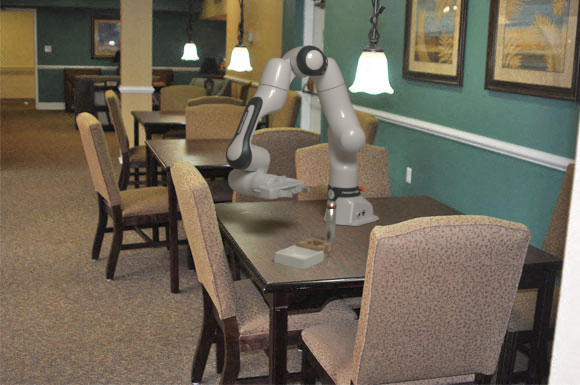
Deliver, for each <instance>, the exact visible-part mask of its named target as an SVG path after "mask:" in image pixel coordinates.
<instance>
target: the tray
mask: <svg viewBox="0 0 580 385" xmlns="http://www.w3.org/2000/svg"><path fill="white" fill-rule="evenodd" d="M323 257H324V252H323V251H320V252H319V251H314V250H310V249H306V248H302V247H297V246H296V244H293V245H291V246H287V247H286V248H283V249H280V250H278V251H276V252H274V260H273V261H274V263H276V264H280V265H283V266H288V267H292V268H296V269H299V270H303V271H304V270H306V269H308V268H311V267H313V266H315V265H317V264H320V263H323V262H324V259H323Z"/></svg>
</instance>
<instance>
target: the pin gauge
mask: <svg viewBox="0 0 580 385" xmlns="http://www.w3.org/2000/svg"><path fill="white" fill-rule="evenodd" d="M336 203H337V202H335V201H328V200H327V201H326V208H327V209H326V208H325V212H326V222H325V232H324V233H325V234H324V240H325V241H329V242H334V246H335V243H336V225H337V224H336V207H337V204H336Z"/></svg>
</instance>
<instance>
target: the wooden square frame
mask: <svg viewBox="0 0 580 385" xmlns="http://www.w3.org/2000/svg"><path fill="white" fill-rule="evenodd" d="M295 245H296V246H297V247H302V248H306V249H310V250H314V251H319V252H320V251H323V252H324V257H323V260H325V259H327V258H330V257H331V256H334V254H335V245H334V242H329V241H325V239H319V238H314V237H309V238H307V239H304V240H301V241H299V242H296V243H295Z"/></svg>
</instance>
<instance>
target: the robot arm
mask: <svg viewBox="0 0 580 385" xmlns="http://www.w3.org/2000/svg"><path fill="white" fill-rule="evenodd" d="M307 77H309V78H310V79H311V80H312V82H313V84H314V87H315V90H316V94H317V97H318V100H319V103H320V107H321V110H322V112H323V114H324V116H325V118H326V121H327V123H328V127H327V131H326V133H327V144H328V145H327V146H328V147H327V148H328V157H329V174H328V175H329V178H328V184H327V192H326V194H327V201H335V202H337V203H336V204H337V207H336V224H335V225H337V226H351V227H352V226H353V227H359V226H362V225H366V224H369V223H373V222H374V223H375V222H377V220H378V221H379V220H380V217H379V216H378V215H376V214H374V208H373V205H372V203H371V202H370V201H369V200H367V199H366V198H365V197H364V196H363V195H362V194H361V192H362V193H365V192H366V190H367V188H366V187H365V186H363V185H360V186H359V185H358V183H359V182H358V181H359V162H358V157H357V156H358V155H357V152H358V151H360V150H361V149H362V148H364V145H365V144H366V139H367V138H366V133H365V132H364V129H363V127H362V125H361V123H360V119H359V118H358V115H357V113H356V110H355V109H354V106H353V104H352V102H351V99H350V94H349V91H348V88H347V85H346V82H345V79H344V76H343V73H342V71H341V69H340V66H339V64H338V62H337V61H336V60H335V59H334V58H332V57H328V56H326V55H325V53H324V51H322V50H321V49H320V48H319V47H318V46H315V45H311V44H310V45H309V44H308V45H301V46H300V45H299V46H297V47H294V48H292V49H289V50H287V51H285V52H284V53H283V54H282V55H281V56H280V57H273V58H270V59H268V61H266V64H265V65H264V67H263V71H262V73H261V75H260V79H259V82H258V84H257V88H256V91H255V93H254V95H253V97H252V98H250V99H249V100H248V102H247V104H246V106H245V108H244V110H243V113H242V116H241V117H240V120H239V123H238V126H237V127H236V131H235V133H234V135H233V137H232V139H231V142H230V143H229V144H228V146H227V148H226V151H225V160H226V162H227V164H228V166H229V167H230V168H232V170H231V171H230V172H229V174H228V177H227V181H228V185H229V187H230V188H231V190H232V191H234V192H236V193H238V194H240V195H245V196H255V197H256V198H260V199H263V200H264V199H265V200H275V199H279V198H280V199H281V198H293V197H294V195H296V194H299V193H300V194H301V193H302V194H309V193H310V188H309V187H306V186H305V182H304V181H302V180H299V179H296V178H291V177H286V175H285V174H284V175H283V174H272V173H268V171H269V169H270V165H271V161H272V159H271V154H270V152H269V150H268V149H266V148H265V147H263V146H259V145H256V144H253V143H252V140H253V137H254V134H255V131H256V129H257V127H258V124H259V121H260V120H261V119H262V118H263V117H265V116H267V115H273V114H275V113H278V112H280V111H281V110H282V109H283V108H284V106H285V104H286V102H287V100H288V94H289V91H290V88H291V83H292V81H293V80H294V79H302V78H303V79H304V78H307ZM326 209H327V208H325V210H326ZM322 220H323V221H324V222H325V223H326V211H325V212H324V216H323V219H322Z"/></svg>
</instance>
